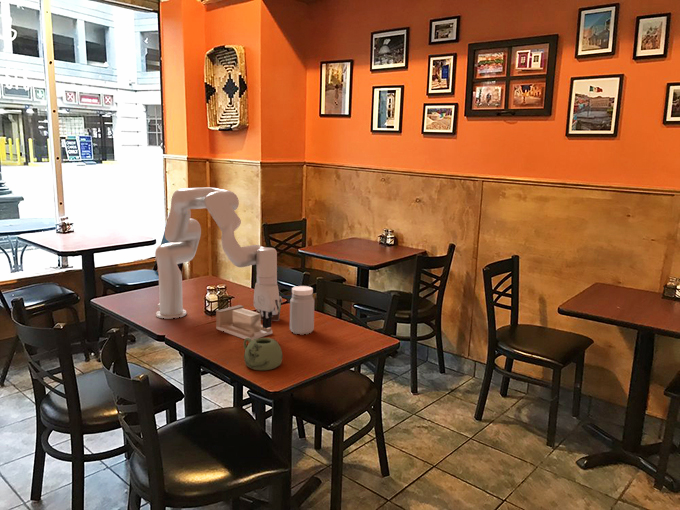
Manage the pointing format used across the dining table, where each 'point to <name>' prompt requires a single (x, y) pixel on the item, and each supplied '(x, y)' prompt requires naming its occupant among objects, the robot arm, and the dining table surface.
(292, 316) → the jar
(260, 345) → the green rounded hollow pot
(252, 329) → the beige rectangular block
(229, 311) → the floor frame
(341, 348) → the dining table surface
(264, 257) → the robot arm
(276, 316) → the food container
